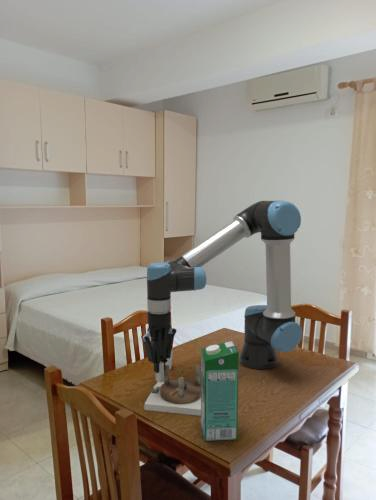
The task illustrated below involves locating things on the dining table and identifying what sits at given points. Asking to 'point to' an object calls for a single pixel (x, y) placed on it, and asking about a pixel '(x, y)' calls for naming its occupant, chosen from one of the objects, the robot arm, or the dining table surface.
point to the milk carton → (219, 391)
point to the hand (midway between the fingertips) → (159, 380)
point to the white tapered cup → (169, 361)
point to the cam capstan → (181, 388)
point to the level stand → (170, 404)
